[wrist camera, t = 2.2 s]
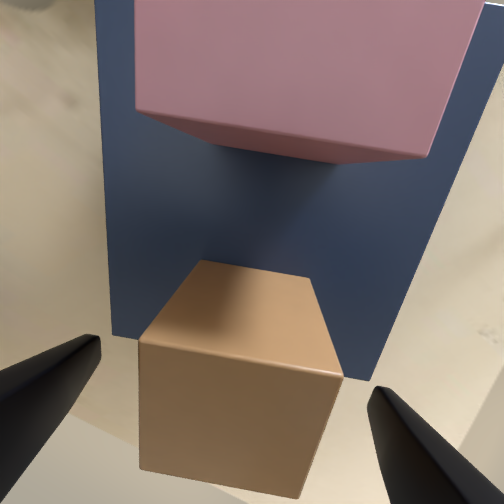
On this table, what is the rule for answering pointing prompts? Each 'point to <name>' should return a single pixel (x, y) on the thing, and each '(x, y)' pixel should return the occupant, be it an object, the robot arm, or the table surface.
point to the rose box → (303, 73)
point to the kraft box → (237, 380)
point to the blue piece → (274, 202)
